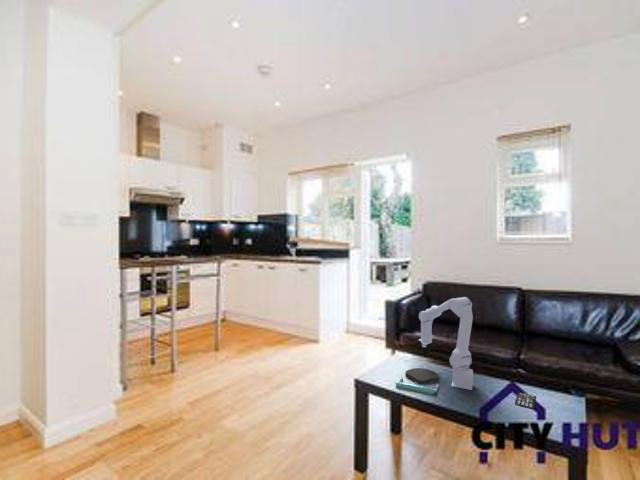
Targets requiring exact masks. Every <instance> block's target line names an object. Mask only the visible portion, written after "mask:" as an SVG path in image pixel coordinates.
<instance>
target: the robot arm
mask: <svg viewBox="0 0 640 480" xmlns="http://www.w3.org/2000/svg"><path fill="white" fill-rule="evenodd" d="M472 308H473V303H472V301H471V300H470V299H469V298H468V297H467V296H463V297H462V296H461V297H456V298H454V297H453V298H450V299H448V300H446V301H445V302H443V303H442V304H440V305H431V307H430V308H426V309H425V310H422V311H420V312H419V313H418V319H419V321H420V338H419V339H418V342H421V343H420V347H421V349H422V354H423V357H424V358H429V356H430V351H431V348H432V345H433V339H432V338H433V337H432V335H433V334H432V326H433V321H434V319H436V318H438V317H440V316H441V315H442V313H443V312H444V311H447V310H451V312H453V313H454V314H455V315H456V316H457V317H459V328H458V331H457V332H458V333H457V338H456V339H457V341H456V346H455V348H454V350H453V351H452V352H451V356H450V357H449V364H450V366H451V368H452V382H451V387H453V388H457V389H458V388H459V389H464V390H470V391H473V385H474V380H473V379H474V376H473V374H474V370H473V369H471V368H470V365H472V361H473V359H472V353H471V352H470V350H469V346H470V338H471V332H472V327H473V318H474V316H473V310H472Z"/></svg>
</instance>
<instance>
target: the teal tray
mask: <svg viewBox="0 0 640 480" xmlns="http://www.w3.org/2000/svg"><path fill="white" fill-rule="evenodd" d="M403 380H404V378H403V377H400V378H399V379H398V381H396V382H395V388H397V389H401V390H402V389H403V390H407V391H411V392H412V391H413V392H417V393H423V394H426V395H427V394H428V395H431V396H432V395H433V396H437V394H438V391H439V386H440V384H439V383H436V384H435V387H434V388H432V387H426V386H421V385H416V384H411V383H405V382H403Z"/></svg>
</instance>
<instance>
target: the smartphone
mask: <svg viewBox="0 0 640 480" xmlns="http://www.w3.org/2000/svg"><path fill="white" fill-rule="evenodd" d="M536 399H537V397H536V396H535V395H533V394H530V393H525V392H524V393H523V392H517V394H516V398H515V402H514V405H515V406H518V407H521V408H525V409H530V410H535V407H536Z"/></svg>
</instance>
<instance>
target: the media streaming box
mask: <svg viewBox="0 0 640 480" xmlns="http://www.w3.org/2000/svg"><path fill="white" fill-rule="evenodd" d="M404 375H405V377H406V378H407V379H409V380H410V381H412V382H414V383H415V384H419V385H429V383H430V384H433V383H437V382H440V374H438V373H436V372H435V371H433V370H432V369H429V368H425V367H424V368H423V367H415V368H409V369H407V370H406V371H405V374H404Z"/></svg>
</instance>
